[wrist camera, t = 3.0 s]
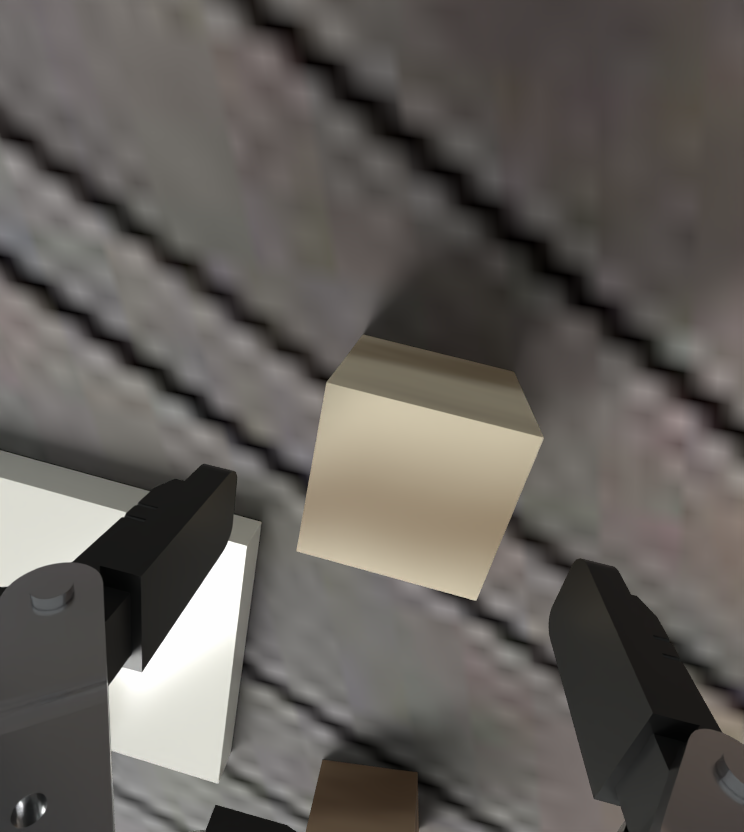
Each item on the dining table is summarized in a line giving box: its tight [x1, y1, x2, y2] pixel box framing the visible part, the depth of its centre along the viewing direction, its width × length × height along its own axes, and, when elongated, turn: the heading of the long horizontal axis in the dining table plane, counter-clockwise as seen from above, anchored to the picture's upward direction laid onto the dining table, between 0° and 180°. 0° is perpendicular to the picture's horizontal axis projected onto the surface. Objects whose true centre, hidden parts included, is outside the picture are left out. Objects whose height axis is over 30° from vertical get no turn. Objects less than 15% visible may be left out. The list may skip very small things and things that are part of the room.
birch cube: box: [297, 335, 544, 601], centre depth 13 cm, size 5×5×5 cm
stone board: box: [0, 450, 262, 784], centre depth 21 cm, size 16×16×2 cm
